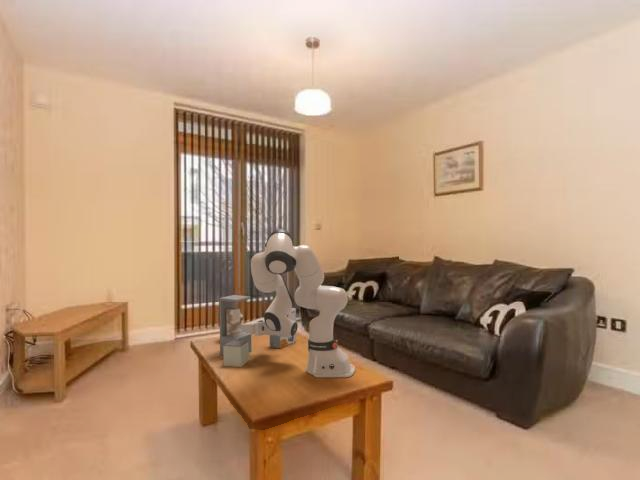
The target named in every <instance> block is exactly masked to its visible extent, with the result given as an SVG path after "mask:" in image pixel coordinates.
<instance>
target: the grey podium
mask: <svg viewBox="0 0 640 480" xmlns="http://www.w3.org/2000/svg"><path fill="white" fill-rule="evenodd" d="M251 297H252V296H247V295H238V294H232V295H228V296H221V297H219V299H218V302H219V303H218V304H219V306H218V309H219V355H223V356H224V353H223V346H224V345H225V344H226V343H228V342H230V341H231V340H243V341H249V353H251V352H252V334H250V333H245V332H243V333H242V332H240V334H239V335H237V336H228V335H227V318H226V309H229V308H233V307H234V308H237V307H236V306H237V305H236V304H237V303H239V302H244V301H247V300H251V299H252V298H251Z"/></svg>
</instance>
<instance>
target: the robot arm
mask: <svg viewBox="0 0 640 480" xmlns="http://www.w3.org/2000/svg"><path fill="white" fill-rule="evenodd" d="M293 243H294V241H293V237H292V235H291V233H290V232H289V231H288V230H285V229H284V228H277V229H275V230H273V231H272V232H271V233H270V234H269V236H268V238H267V240H266V243H265V245H264V248H265V250H264V251H260V252H257V253H256V254H254V255H253V256H252V258H251V260H250V272H251V277H252V281H253V285H254V286H255V287H256V289H257V290H258V291H259V292H262V293H265V294H266V293H273V292H275V293H276V294H275V297H274V299H273V300H272V302H271V303H270V305H269V306H268V307H267V309H266V310H265V312H264V314H263V316H262V317H260V318H253V319H252V320H250V321H248V322H241V323H240V326H241V327H242V331H243V333H249V334H251V335H255V336H259V337H260V336H270V335H277V336H279V337H293V336H294V335H295V333H296V334H297V332H298V328H299V327H298V322H297V320H296V321H293V320H290V319H288V318H287V315H288V313H289V311H290V310H291V309H292V308H294V306H295V304H296V305H297V306H298V307H302V308H305V309H307V310H309V309H310V310H319V314H318V315H317V316H315V317H314V318H312V319H311V320H310V322H309V324H308V338H309V339H308V340H307V349H308V350H307V351H308V358H307V365H306V368H305V371H306V372H307V373H308V374H310V375H312V376H313V377H315V378H350V377H351V376H353V375H354V374H355V372H356V366H355V365H354V364H351V361H350V358H349V356H348V354H347V353H345V352H344V351H343V350H341V349H340V347H338V340H337V339H335V338H334V324H335V323H334V322H335V319H336V317H337V316H338V314H339V313H340V312H341V311H343V310H344V309H345V308H346V306H347V304H348V298H349V297H348V294H347V291H346V290H345V289H344V288H342V287H337V286H334V285H322V284H323V282H324V281H325V273H324V270H323V269H322V266H321V263H320V261H319V259H318V257H317V255H316V253H315V252H314V250H313V249H312V247H310V246H309V245H307V244H300V245H297V246H294V245H293ZM293 270H294V272H295V274H296V276H297V279H298V281H299V283H300V285H299V286H297V288H296V290H295V292H294V296H293V295H292V294H291V293H290V290H289V287H288V285H287V283H286V280H285V278H284V276H283V274H287V273H289V272H292V271H293Z"/></svg>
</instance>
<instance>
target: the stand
mask: <svg viewBox="0 0 640 480" xmlns="http://www.w3.org/2000/svg"><path fill="white" fill-rule="evenodd" d="M223 353H224V355H223V367H225V366H226V367H239V368H241V367H242V366H244V365H245V364H246V363H247V362H249V360H250V357H249V355H250V352H249V341H243V340H231V341H230V342H228V343H226V344H225V345H224V346H223Z"/></svg>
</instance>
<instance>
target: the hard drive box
mask: <svg viewBox="0 0 640 480" xmlns="http://www.w3.org/2000/svg"><path fill="white" fill-rule="evenodd" d="M296 309H297V308H295V307H293V308H292V309H291V310H290V311H289V313H288V315H287V318H288V319H290V320H293V321H296V322H297V320H296V319H297V318H296V317H297V316H296V315H297V314H296V313H297V311H296ZM296 336H297V332H296V333H295V335H294V336H293V337H279V336H277V335H269V347H271V348H275V349H281V348H285V347H287V346H289V345H291V344H292V345H293V344H294V343H295V342H296V341H297V339H296V338H297V337H296Z"/></svg>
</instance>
